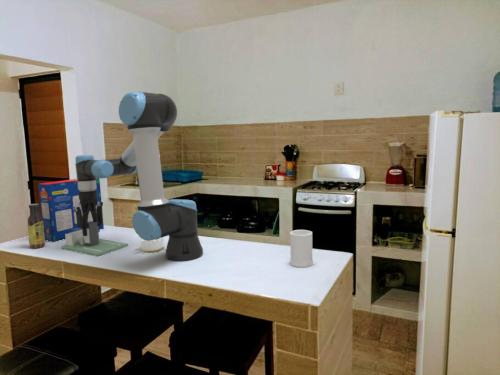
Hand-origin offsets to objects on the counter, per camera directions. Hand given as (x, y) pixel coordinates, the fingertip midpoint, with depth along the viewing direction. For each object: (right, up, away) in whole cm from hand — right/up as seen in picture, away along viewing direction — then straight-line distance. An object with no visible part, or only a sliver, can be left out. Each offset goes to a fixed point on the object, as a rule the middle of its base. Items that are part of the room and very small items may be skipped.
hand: (92, 241), depth 169 cm
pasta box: (-19, 0, +24) cm, 30 cm away
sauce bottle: (-26, -3, +3) cm, 27 cm away
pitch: (+1, -3, 0) cm, 3 cm away
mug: (+92, -4, -27) cm, 96 cm away
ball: (-6, +1, +4) cm, 7 cm away
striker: (-1, -1, +1) cm, 2 cm away
